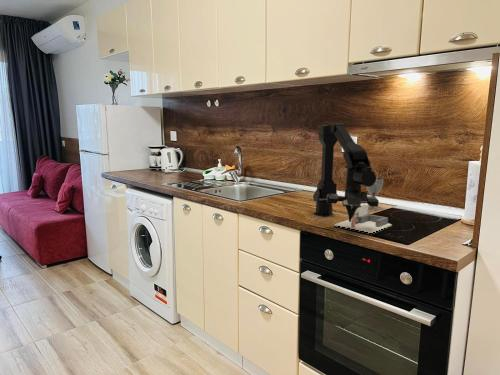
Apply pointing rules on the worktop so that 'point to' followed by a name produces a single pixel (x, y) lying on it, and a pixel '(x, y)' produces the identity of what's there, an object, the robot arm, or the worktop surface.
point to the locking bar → (355, 219)
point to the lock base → (367, 223)
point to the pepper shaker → (363, 209)
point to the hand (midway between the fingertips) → (349, 221)
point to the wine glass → (375, 190)
